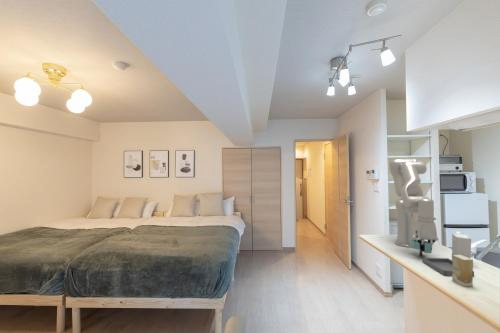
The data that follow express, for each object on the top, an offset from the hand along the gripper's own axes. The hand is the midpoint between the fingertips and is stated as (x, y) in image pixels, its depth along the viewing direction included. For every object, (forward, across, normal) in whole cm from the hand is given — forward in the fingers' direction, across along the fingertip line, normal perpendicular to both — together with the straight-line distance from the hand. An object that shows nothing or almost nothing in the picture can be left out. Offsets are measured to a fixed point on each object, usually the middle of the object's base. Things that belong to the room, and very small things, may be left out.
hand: (425, 250), depth 143 cm
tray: (+4, -2, +14) cm, 15 cm away
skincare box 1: (+5, -15, +6) cm, 17 cm away
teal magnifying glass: (0, 0, -4) cm, 4 cm away
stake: (+5, 0, -4) cm, 7 cm away
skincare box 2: (+4, +2, +31) cm, 31 cm away
